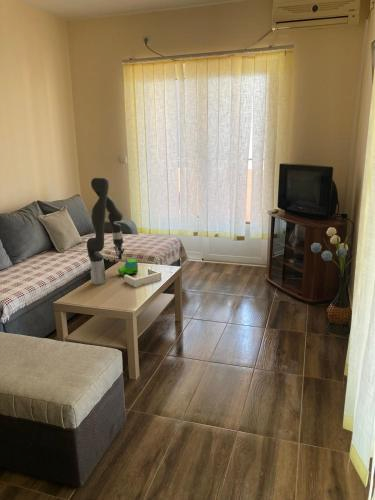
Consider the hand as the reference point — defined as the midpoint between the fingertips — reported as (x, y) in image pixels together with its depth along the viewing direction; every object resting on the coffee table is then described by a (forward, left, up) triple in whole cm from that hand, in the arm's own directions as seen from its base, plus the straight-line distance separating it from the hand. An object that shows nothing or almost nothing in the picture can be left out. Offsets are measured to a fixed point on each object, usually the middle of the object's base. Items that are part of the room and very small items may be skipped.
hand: (120, 259), depth 310 cm
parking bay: (0, -33, -9) cm, 34 cm away
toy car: (0, -11, -10) cm, 15 cm away
